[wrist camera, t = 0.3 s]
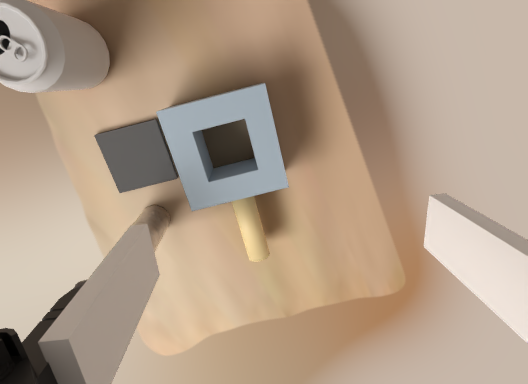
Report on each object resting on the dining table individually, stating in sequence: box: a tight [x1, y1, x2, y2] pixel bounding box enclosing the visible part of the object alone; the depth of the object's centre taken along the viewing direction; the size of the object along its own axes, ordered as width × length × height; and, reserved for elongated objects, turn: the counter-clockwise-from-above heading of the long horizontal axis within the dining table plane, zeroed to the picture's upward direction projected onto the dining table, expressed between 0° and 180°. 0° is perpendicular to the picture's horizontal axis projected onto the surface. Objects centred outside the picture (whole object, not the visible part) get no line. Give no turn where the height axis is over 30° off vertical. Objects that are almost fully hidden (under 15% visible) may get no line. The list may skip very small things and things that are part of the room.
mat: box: [94, 119, 178, 193], centre depth 40 cm, size 8×8×1 cm
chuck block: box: [156, 83, 289, 262], centre depth 39 cm, size 22×12×6 cm, turn 14°
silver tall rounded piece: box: [74, 205, 170, 288], centre depth 36 cm, size 4×8×15 cm, turn 104°
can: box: [0, 0, 110, 93], centre depth 30 cm, size 8×8×12 cm
